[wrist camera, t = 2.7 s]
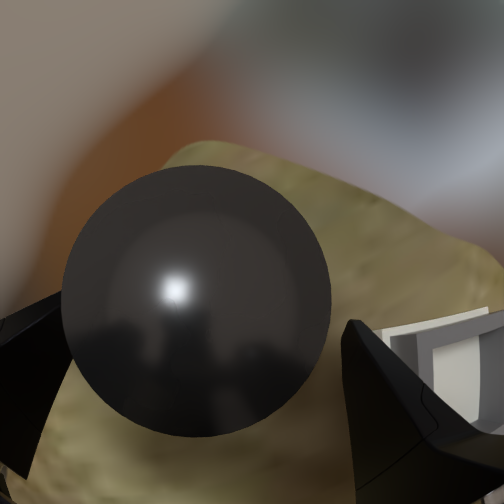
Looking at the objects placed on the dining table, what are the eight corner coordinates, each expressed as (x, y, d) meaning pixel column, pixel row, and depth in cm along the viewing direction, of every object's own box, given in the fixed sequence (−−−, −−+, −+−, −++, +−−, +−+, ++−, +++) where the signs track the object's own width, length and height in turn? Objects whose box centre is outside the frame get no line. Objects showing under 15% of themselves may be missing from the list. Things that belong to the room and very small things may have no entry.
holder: (476, 426, 14) (513, 434, 10) (373, 469, 14) (403, 494, 9) (475, 309, 17) (514, 298, 13) (371, 330, 17) (407, 325, 12)
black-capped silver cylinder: (271, 366, 16) (339, 425, 4) (185, 369, 16) (66, 420, 4) (265, 283, 18) (311, 161, 6) (183, 287, 17) (78, 179, 5)
